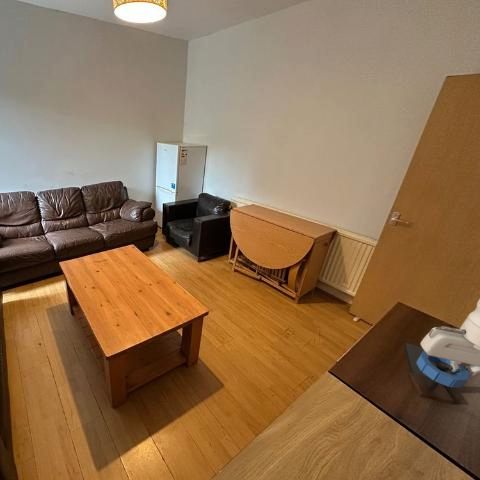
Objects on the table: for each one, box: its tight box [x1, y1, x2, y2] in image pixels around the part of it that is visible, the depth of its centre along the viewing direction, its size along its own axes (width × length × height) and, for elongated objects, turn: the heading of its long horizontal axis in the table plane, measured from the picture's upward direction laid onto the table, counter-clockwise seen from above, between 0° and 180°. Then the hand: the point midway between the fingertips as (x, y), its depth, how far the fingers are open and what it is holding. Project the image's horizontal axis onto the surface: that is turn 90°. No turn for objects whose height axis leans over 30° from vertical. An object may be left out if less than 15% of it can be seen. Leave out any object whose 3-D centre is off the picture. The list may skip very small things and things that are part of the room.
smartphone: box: [403, 342, 438, 376], centre depth 82 cm, size 7×1×15 cm
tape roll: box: [416, 351, 470, 388], centre depth 70 cm, size 9×10×3 cm
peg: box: [407, 361, 455, 405], centre depth 72 cm, size 7×7×10 cm
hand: (460, 372), depth 69 cm, fingers closed on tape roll
